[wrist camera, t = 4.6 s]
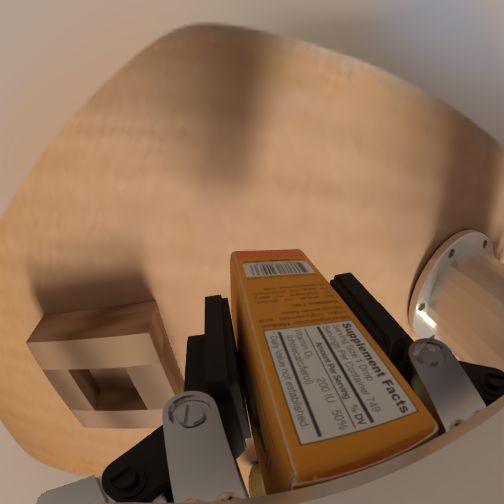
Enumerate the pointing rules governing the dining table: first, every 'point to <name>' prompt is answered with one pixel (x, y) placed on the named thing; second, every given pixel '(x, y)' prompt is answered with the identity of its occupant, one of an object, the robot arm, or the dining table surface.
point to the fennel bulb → (256, 482)
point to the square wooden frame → (109, 364)
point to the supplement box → (315, 377)
